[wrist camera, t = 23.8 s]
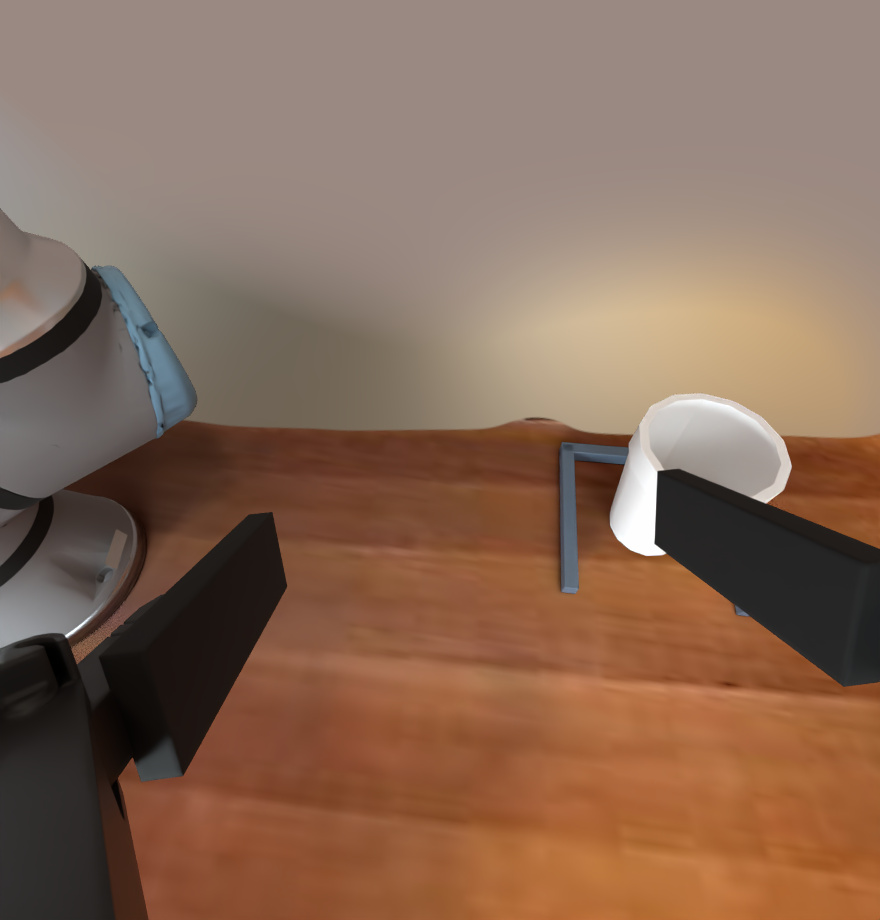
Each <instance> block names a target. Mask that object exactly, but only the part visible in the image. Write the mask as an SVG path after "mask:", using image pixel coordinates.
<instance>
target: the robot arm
mask: <svg viewBox="0 0 880 920" xmlns="http://www.w3.org/2000/svg"><path fill="white" fill-rule="evenodd" d="M196 404H197V395H196V391H195V389H194V387H193V385H192V383H191V381H190V379H189V377H188V375H187V373H186V372H185V370H184V368H183V367H182V365H181V363H180V361H179V360H178V358H177V356H176V354H175V353H174V351H173V349H172V348H171V346H170V345H169V343H168V341H167V340H166V338H165V337H164V335H163V334H162V332H161V331H159V329H158V326H157V324H156V323H155V321H154V320H153V318H152V317H151V315H150V313H149V311H148V310H147V308H146V306H145V305H144V303H143V302H142V300H141V299H140V297H139V296H138V294H137V293H136V291H135V290H134V288H133V287H132V285H131V284H130V283H129V281H128V280H127V278H126V277H125V276H124V275H123V273H122V272H121V271H120V270H119V269H118V268H116V267H114V266H104V267H101V266H97V267H96V266H94V267H92V269H91V270H90V269H89V267H88V266H87V265H86V264H85V263H84V262H83V260H82V259H81V258H80V257H79V256H78V254H77V253H76V252H75V251H74V250H72V249H71V248H70V247H68V246H67V245H65V244H64V243H62V242H59V241H56V240H53V239H50V238H46V237H42V236H39V235H34V234H31V233H27V232H23V231H21V230H20V229H19V228H18V227H17V226H16V225H15V224H14V223H13V222H12V221H11V220H10V219H9V217H8V216H7V215H6V214H5V213H4V212H3V211H2V210H1V209H0V920H148V915H147V910H146V905H145V900H144V895H143V890H142V885H141V880H140V875H139V870H138V865H137V860H136V855H135V850H134V845H133V840H132V836H131V831H130V826H129V821H128V816H127V811H126V806H125V801H124V796H123V792H122V789H121V786H120V783H119V780H118V777H119V775H120V774H121V773H122V771H123V770H124V768H125V767H126V765H127V764H128V763H129V761H130V760H131V758H132V757H133V759H134V762H135V765H136V768H137V771H138V774H139V777H140V779H141V782H143V781H150V780H157V779H165V778H172V777H180V776H183V775H184V773H185V772H186V770H187V768H188V766H189V764H190V762H191V761H192V759H193V757H194V755H195V753H196V752H197V750H198V748H199V746H200V744H201V742H202V741H203V739H204V737H205V735H206V733H207V732H208V730H209V728H210V726H211V724H212V722H213V721H214V719H215V717H216V715H217V713H218V712H219V710H220V708H221V706H222V704H223V702H224V701H225V699H226V697H227V695H228V693H229V692H230V690H231V688H232V686H233V684H234V682H235V681H236V679H237V677H238V675H239V673H240V672H241V670H242V668H243V666H244V664H245V662H246V661H247V659H248V657H249V655H250V653H251V652H252V650H253V648H254V646H255V644H256V642H257V641H258V639H259V637H260V635H261V633H262V632H263V630H264V628H265V626H266V624H267V622H268V621H269V619H270V617H271V615H272V613H273V612H274V610H275V608H276V606H277V604H278V602H279V601H280V599H281V597H282V595H283V593H284V592H285V590H286V588H287V583H286V578H285V573H284V568H283V563H282V558H281V553H280V548H279V543H278V538H277V533H276V528H275V523H274V518H273V513H272V512H269V513H260V514H250V515H248V516H247V517H246V518H245V519H244V520H243V521H242V522H240V523H239V524H238V525H237V526H236V527H235V528H234V529H233V530H232V531H231V532H230V533H229V534H228V535H227V536H226V537H225V538H224V539H222V540H221V541H220V542H219V543H218V544H217V545H216V546H215V547H214V548H213V549H212V550H211V551H210V552H209V553H208V554H207V555H206V556H204V557H203V558H202V559H201V560H200V561H199V562H198V563H197V564H196V565H195V566H194V567H193V568H192V569H191V570H190V571H189V572H188V573H186V574H185V575H184V576H183V577H182V578H181V579H180V580H179V581H178V582H177V583H176V584H175V585H174V586H173V587H172V588H171V589H170V590H168V591H167V592H166V593H165V594H164V595H160V596H159V597H157V598H155V599H154V600H152V601H150V602H149V603H147V604H145V605H144V606H142V607H140V608H139V609H138V610H137V611H136V612H135V613H133V614H132V615H131V616H130V617H129V618H128V619H127V620H126V621H125V622H124V625H120V626H119V627H118V628H117V629H116V630H115V631H114V632H113V633H111V637H107V638H106V639H105V640H104V641H103V642H102V643H100V644H99V645H98V646H97V647H96V648H95V649H94V650H93V651H92V652H91V653H89V654H88V655H87V656H86V657H85V658H84V659H83V660H82V661H81V662H80V663H78V664H76V661H75V658H74V656H73V653H72V650H71V646H73V645H74V644H76V643H78V642H79V641H81V640H82V639H84V638H85V637H87V636H88V635H90V634H91V633H92V632H94V631H95V630H96V629H97V628H98V627H100V626H101V625H102V624H103V623H104V622H105V621H106V620H107V619H108V618H109V617H110V616H111V615H112V614H113V613H114V612H115V611H116V610H117V609H118V607H119V606H120V605H121V604H122V602H123V601H124V600H125V598H126V597H127V595H128V594H129V593H130V591H131V589H132V588H133V586H134V584H135V582H136V580H137V578H138V576H139V574H140V571H141V569H142V566H143V562H144V558H145V553H146V535H145V531H144V528H143V526H142V523H141V522H140V520H139V519H138V518H137V516H136V515H135V514H134V513H132V512H131V511H130V510H128V509H126V508H125V507H123V506H122V505H120V504H118V503H117V502H115V501H113V500H111V499H108V498H105V497H100V496H93V495H87V494H82V493H78V492H74V491H69V490H65V489H63V488H65V487H67V486H68V485H70V484H72V483H74V482H76V481H78V480H79V479H81V478H83V477H85V476H87V475H89V474H90V473H92V472H94V471H96V470H98V469H100V468H101V467H103V466H105V465H107V464H109V463H111V462H112V461H114V460H116V459H118V458H120V457H122V456H123V455H125V454H127V453H129V452H131V451H133V450H134V449H136V448H138V447H140V446H142V445H144V444H145V443H147V442H149V441H151V440H153V439H155V438H156V439H157V438H159V437H160V436H162V435H163V434H164V431H166V430H168V429H169V428H171V427H172V426H174V425H175V424H177V423H179V422H180V421H182V420H183V419H185V418H186V417H188V416H189V415H190V414H191V413H192V412H193V410H194V408H195V407H196ZM654 544H655V545H656V546H658V547H659V548H660V549H661V550H663V551H664V552H665V553H667V554H668V555H669V556H671V557H672V558H673V559H675V560H676V561H677V562H679V563H680V564H681V565H683V566H684V567H685V568H687V569H688V570H689V571H691V572H692V573H693V574H695V575H696V576H697V577H699V578H700V579H701V580H703V581H704V582H705V583H707V584H708V585H709V586H711V587H712V588H713V589H715V590H716V591H717V592H719V593H720V594H721V595H723V596H724V597H725V598H727V599H728V600H729V601H731V602H732V603H733V604H735V605H736V606H737V607H739V608H740V609H741V610H743V611H744V612H745V613H747V614H748V615H749V616H751V617H752V618H753V619H755V620H756V621H757V622H759V623H760V624H761V625H763V626H764V627H765V628H767V629H768V630H769V631H771V632H772V633H773V634H774V635H776V636H777V637H778V638H780V639H781V640H782V641H784V642H785V643H786V644H788V645H789V646H790V647H792V648H793V649H794V650H796V651H797V652H798V653H800V654H801V655H802V656H804V657H805V658H806V659H808V660H809V661H810V662H812V663H813V664H814V665H816V666H817V667H818V668H820V669H821V670H822V671H824V672H825V673H826V674H828V675H829V676H830V677H832V678H833V679H834V680H836V681H837V682H838V683H840V684H841V685H842V686H844V687H846V686H853V685H861V684H868V683H876V682H880V549H878V548H876V547H873V546H871V545H868V544H866V543H863V542H861V541H858V540H856V539H853V538H851V537H848V536H846V535H843V534H841V533H838V532H836V531H833V530H831V529H828V528H826V527H823V526H821V525H818V524H816V523H813V522H811V521H808V520H806V519H803V518H801V517H798V516H796V515H793V514H791V513H788V512H786V511H783V510H781V509H778V508H776V507H773V506H771V505H768V504H766V503H763V502H761V501H758V500H756V499H753V498H751V497H748V496H746V495H743V494H741V493H738V492H736V491H734V490H731V489H729V488H726V487H724V486H721V485H719V484H716V483H714V482H711V481H709V480H706V479H704V478H701V477H699V476H696V475H694V474H691V473H689V472H686V471H684V470H681V469H670V470H661V471H657V492H656V516H655V540H654Z"/></svg>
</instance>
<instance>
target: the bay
mask: <svg viewBox="0 0 880 920" xmlns="http://www.w3.org/2000/svg"><path fill="white" fill-rule="evenodd" d="M628 453H629V448H627V447H615V446H603V445H591V444H579V443H566V442H562V444H561V447H560V531H561V592H565V593H573V594H575V593H576V592H577V590H578V589H579V581H578V552H577V523H576V494H575V465H574V460H579V461H590V462H602V463H613V464H624V465H625V463H626V460H627V456H628ZM735 608H736V613H737V615H742V616H749V615H748V614H747V613H745V612H744V611H743V610H741V609H740V608H739V607H737V606H736V605H735ZM750 617H751V616H750Z"/></svg>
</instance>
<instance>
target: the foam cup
mask: <svg viewBox="0 0 880 920" xmlns="http://www.w3.org/2000/svg"><path fill="white" fill-rule="evenodd" d="M791 468H792V465H791V462H790V459H789V456H788V452H787V449H786V446H785V443H784V440H783V439H782V438H781V437H780V436H779V435H778V434H777V433H776V432H775V430H774V429H773V428H772V427H771V426H770V425H769V424H768V423H767V422H766V421H765V419H764V418H763V417H761V416H759V415H758V414H756V413H754V412H752V411H751V410H748V409H747V408H745V407H743V406H742V405H740V404H738V403H736V402H735V401H732V400H728V399H724V398H719V397H716V396H711V395H707V394H703V393H698V394H697V393H696V394H680V395H672V396H670V397H668V398H666V399H664V400H662V401H660V402H658V403H656V404H654V405H652V406H650V408H649V410H648V411H647V413H646V415H645V416H644V418H643V420H642V421H641V423H640V425H639V426H638V428H637V430H636V431H635V433H634V435H633V437H632V439H631V440H630V442H629V453H628V456H627V460H626V463H625V466H624V469H623V472H622V475H621V478H620V481H619V485H618V488H617V491H616V494H615V497H614V500H613V503H612V506H611V511H610V526H611V528H612V530H613V532H614V534H615V536H616V538H617V539H618V540H619V541H620V542H621V543H622V544H624V545H625V546H626V547H627V548H628V549H630V550H631V551H634V552H637V553H640V554H643V555H645V556H654V555H663V554H666V553H665V552H664V551H663V550H661V549H660V548H659V547H658V546H656V545H655V544H654V540H655V516H656V492H657V471H661V470H670V469H681V470H684V471H686V472H689V473H691V474H694V475H696V476H699V477H701V478H704V479H706V480H709V481H711V482H714V483H716V484H719V485H721V486H724V487H726V488H729V489H731V490H734V491H736V492H738V493H741V494H743V495H746V496H748V497H751V498H753V499H756V500H758V501H761V502H763V503H767V502H769V501H770V500H771V499H773V498H774V497H775V496H777V495H778V494H779V493H780V492H782V491H783V490H784V488H785V485H786V482H787V479H788V477H789V474H790V471H791Z"/></svg>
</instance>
